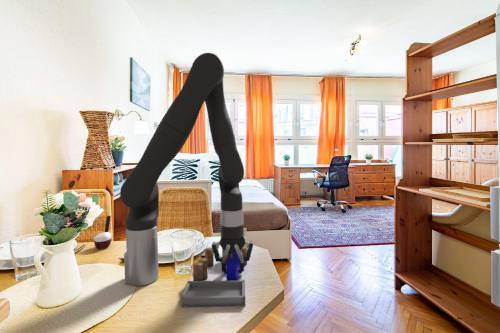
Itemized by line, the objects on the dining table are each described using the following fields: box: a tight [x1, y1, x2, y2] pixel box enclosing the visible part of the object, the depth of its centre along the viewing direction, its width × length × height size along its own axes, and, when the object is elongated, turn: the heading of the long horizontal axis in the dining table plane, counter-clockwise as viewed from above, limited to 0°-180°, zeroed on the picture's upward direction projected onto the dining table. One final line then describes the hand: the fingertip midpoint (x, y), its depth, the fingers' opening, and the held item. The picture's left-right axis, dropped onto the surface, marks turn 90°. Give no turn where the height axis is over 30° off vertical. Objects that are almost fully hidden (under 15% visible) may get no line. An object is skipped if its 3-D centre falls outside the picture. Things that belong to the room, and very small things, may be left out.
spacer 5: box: [241, 246, 248, 267], centre depth 98 cm, size 3×3×6 cm
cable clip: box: [225, 253, 241, 281], centre depth 90 cm, size 12×4×6 cm, turn 173°
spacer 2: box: [197, 257, 209, 281], centre depth 88 cm, size 3×3×6 cm
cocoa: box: [93, 215, 112, 250], centre depth 113 cm, size 10×6×12 cm, turn 152°
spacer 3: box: [204, 247, 215, 268], centre depth 97 cm, size 3×3×6 cm
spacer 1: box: [192, 261, 204, 281], centre depth 85 cm, size 3×3×6 cm
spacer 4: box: [221, 247, 231, 265], centre depth 98 cm, size 3×3×6 cm
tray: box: [180, 279, 246, 308], centre depth 77 cm, size 17×9×2 cm, turn 92°
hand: (233, 272), depth 90 cm, fingers closed on cable clip, 4 cm apart
